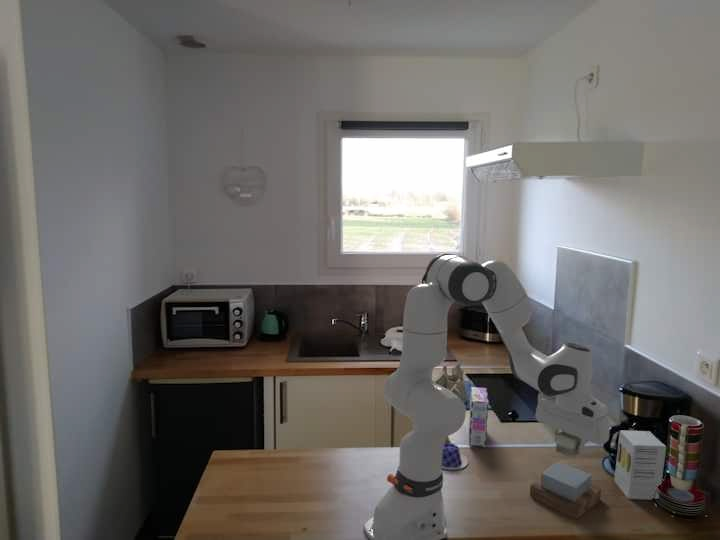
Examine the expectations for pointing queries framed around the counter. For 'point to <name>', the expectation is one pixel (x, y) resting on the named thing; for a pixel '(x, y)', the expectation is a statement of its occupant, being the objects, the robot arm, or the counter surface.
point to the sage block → (567, 444)
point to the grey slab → (566, 481)
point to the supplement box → (639, 464)
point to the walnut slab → (566, 499)
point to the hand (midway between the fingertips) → (568, 446)
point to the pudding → (453, 457)
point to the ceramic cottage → (453, 381)
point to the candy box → (478, 417)
